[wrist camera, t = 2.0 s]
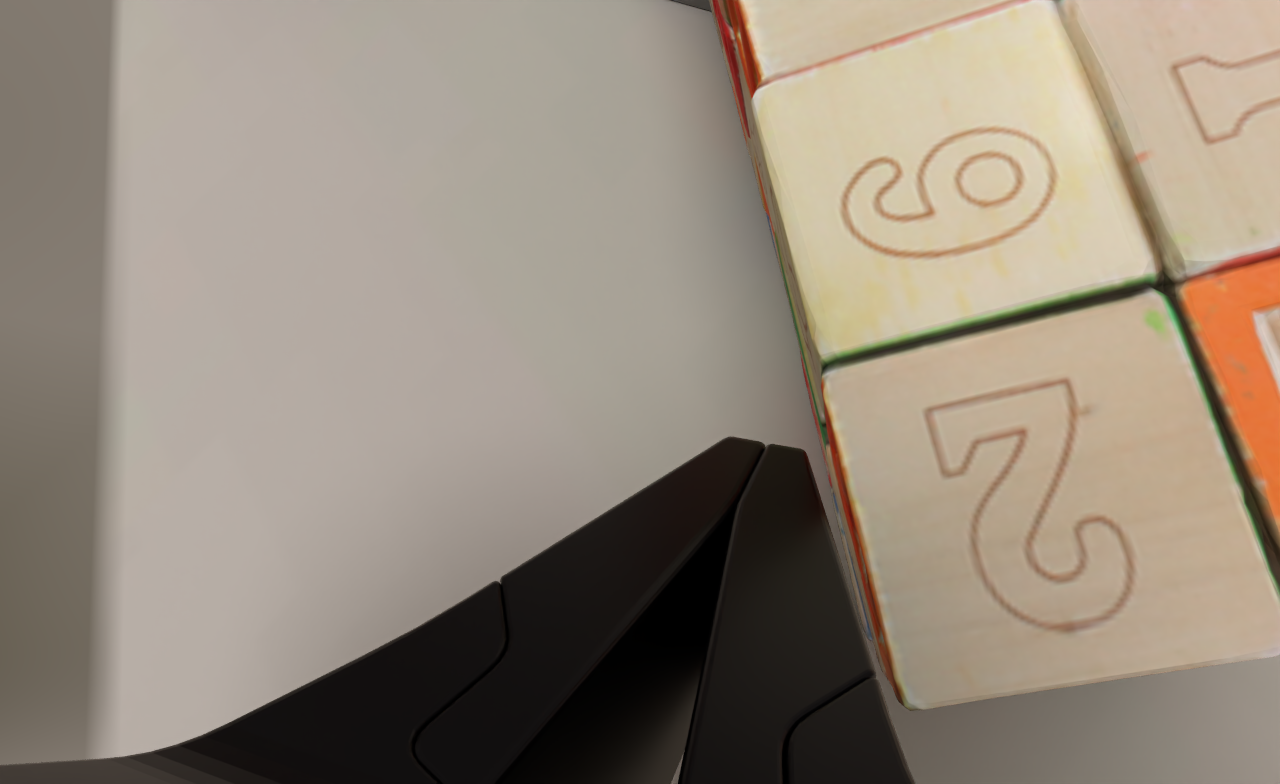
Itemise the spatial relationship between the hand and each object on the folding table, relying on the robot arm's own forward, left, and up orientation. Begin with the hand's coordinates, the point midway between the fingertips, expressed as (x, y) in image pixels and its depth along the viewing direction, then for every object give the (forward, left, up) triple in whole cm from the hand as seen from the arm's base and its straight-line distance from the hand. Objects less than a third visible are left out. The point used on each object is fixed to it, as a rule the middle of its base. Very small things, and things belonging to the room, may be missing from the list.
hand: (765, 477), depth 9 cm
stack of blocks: (+9, +2, -11) cm, 14 cm away
